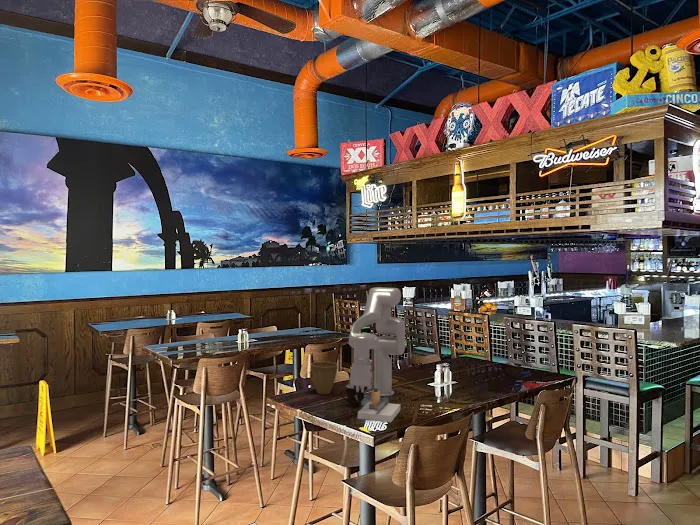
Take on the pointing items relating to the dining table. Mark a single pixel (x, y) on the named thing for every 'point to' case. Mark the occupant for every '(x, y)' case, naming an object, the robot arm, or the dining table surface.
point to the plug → (375, 398)
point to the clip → (381, 403)
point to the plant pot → (324, 376)
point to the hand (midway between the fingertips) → (360, 400)
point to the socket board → (379, 412)
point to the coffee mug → (352, 397)
